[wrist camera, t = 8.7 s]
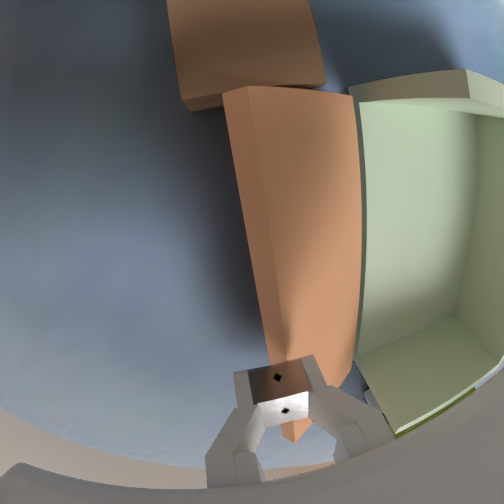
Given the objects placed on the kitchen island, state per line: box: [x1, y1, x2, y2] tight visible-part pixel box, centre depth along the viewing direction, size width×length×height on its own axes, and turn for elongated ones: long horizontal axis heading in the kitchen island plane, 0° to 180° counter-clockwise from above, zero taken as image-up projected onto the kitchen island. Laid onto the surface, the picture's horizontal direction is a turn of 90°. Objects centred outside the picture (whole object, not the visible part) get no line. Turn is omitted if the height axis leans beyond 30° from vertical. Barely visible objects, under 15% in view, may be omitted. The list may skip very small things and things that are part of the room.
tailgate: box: [222, 86, 362, 443], centre depth 13 cm, size 19×1×8 cm
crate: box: [348, 69, 504, 434], centre depth 13 cm, size 20×12×8 cm, turn 9°
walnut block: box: [166, 0, 327, 112], centre depth 9 cm, size 5×5×5 cm
